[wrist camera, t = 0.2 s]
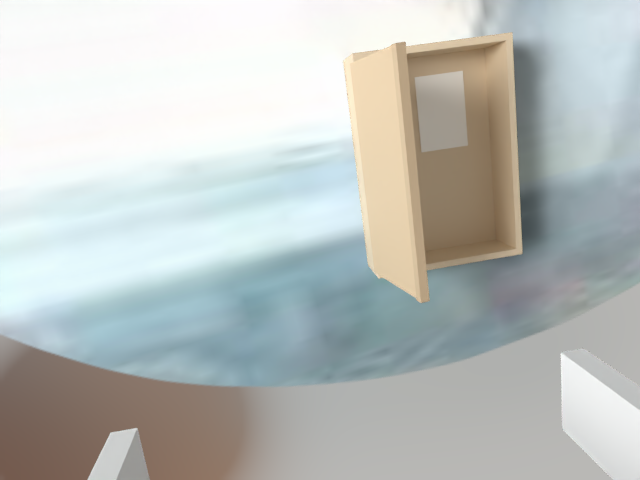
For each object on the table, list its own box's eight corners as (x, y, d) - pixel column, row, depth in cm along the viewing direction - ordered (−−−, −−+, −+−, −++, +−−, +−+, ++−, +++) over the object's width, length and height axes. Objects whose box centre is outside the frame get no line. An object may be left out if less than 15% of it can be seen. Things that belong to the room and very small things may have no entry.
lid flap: (355, 62, 36) (347, 63, 35) (405, 41, 28) (395, 43, 28) (379, 270, 39) (372, 272, 39) (429, 300, 32) (421, 303, 32)
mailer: (343, 60, 40) (352, 53, 36) (488, 41, 41) (512, 32, 37) (368, 265, 43) (378, 278, 40) (499, 243, 44) (522, 253, 41)
